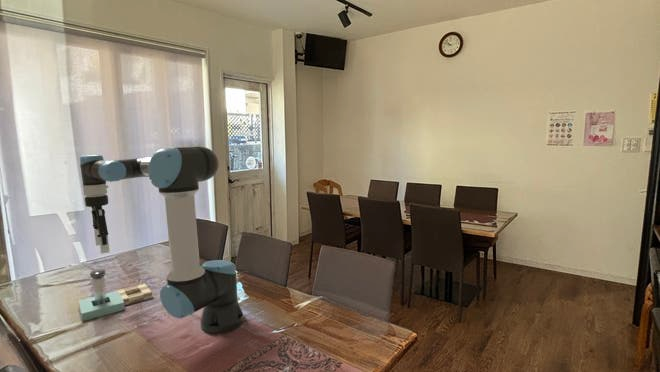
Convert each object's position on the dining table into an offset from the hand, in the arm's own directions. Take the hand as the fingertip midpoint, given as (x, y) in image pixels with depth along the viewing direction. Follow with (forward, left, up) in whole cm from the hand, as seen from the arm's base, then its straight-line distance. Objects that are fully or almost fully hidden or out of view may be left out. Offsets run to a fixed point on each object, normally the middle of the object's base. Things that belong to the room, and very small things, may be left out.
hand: (102, 248), depth 141 cm
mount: (+5, -10, -25) cm, 27 cm away
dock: (+2, +2, -25) cm, 25 cm away
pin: (+1, +2, -25) cm, 25 cm away
